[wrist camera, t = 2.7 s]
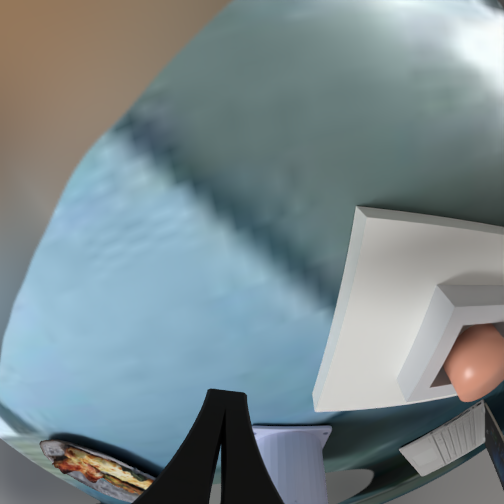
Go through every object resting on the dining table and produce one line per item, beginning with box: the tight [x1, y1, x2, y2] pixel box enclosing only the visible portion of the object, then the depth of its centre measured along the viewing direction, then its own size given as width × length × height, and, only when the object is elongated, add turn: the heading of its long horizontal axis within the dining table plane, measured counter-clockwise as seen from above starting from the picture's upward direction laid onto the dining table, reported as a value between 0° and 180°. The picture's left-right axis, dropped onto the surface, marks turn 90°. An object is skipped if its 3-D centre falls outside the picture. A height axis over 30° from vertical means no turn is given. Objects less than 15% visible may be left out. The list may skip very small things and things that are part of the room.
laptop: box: [399, 399, 504, 490], centre depth 24 cm, size 18×12×13 cm
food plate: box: [40, 439, 156, 503], centre depth 34 cm, size 25×23×4 cm
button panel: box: [312, 206, 504, 412], centre depth 18 cm, size 16×20×4 cm
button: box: [443, 323, 504, 402], centre depth 15 cm, size 5×5×3 cm
